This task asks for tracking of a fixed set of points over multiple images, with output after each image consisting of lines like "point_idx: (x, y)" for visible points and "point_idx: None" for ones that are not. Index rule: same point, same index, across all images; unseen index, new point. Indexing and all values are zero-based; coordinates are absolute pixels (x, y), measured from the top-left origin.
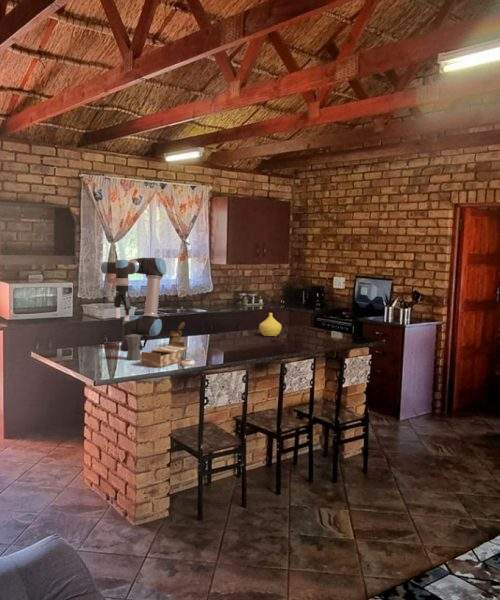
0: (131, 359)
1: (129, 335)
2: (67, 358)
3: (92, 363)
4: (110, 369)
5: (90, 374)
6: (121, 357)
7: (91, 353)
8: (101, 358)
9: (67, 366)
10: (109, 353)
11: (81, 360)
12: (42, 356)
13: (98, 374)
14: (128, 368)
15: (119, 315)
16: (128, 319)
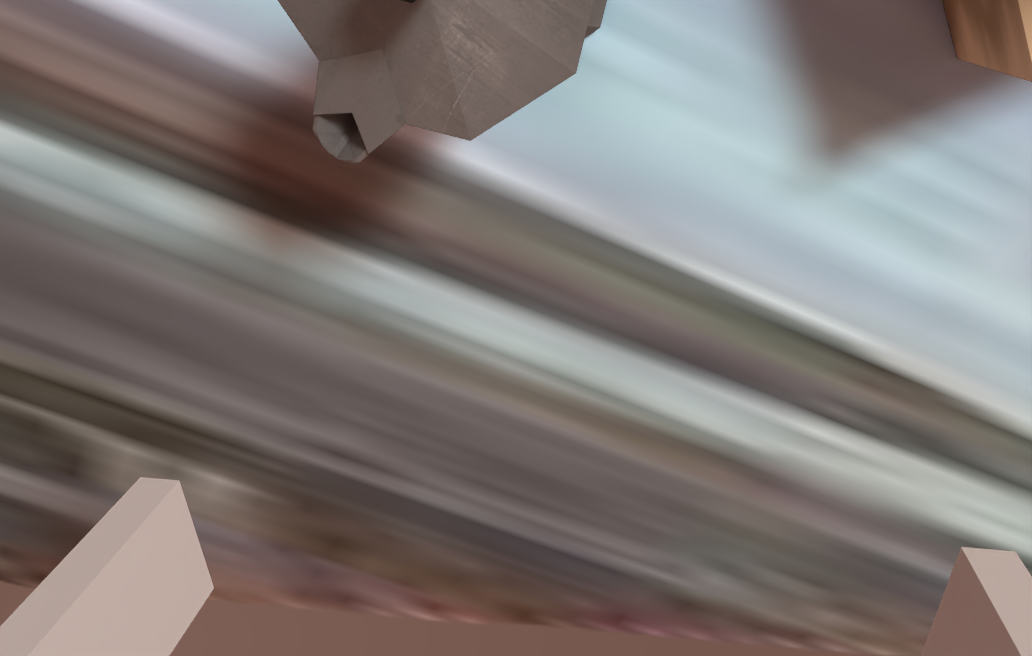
0: (586, 35)
1: (434, 80)
2: (212, 504)
3: (518, 439)
4: (892, 427)
5: None
6: None
7: (19, 264)
8: (314, 284)
9: (533, 611)
10: (51, 96)
11: (340, 457)
12: None
13: None
14: (999, 267)
15: (131, 572)
16: (1029, 612)
